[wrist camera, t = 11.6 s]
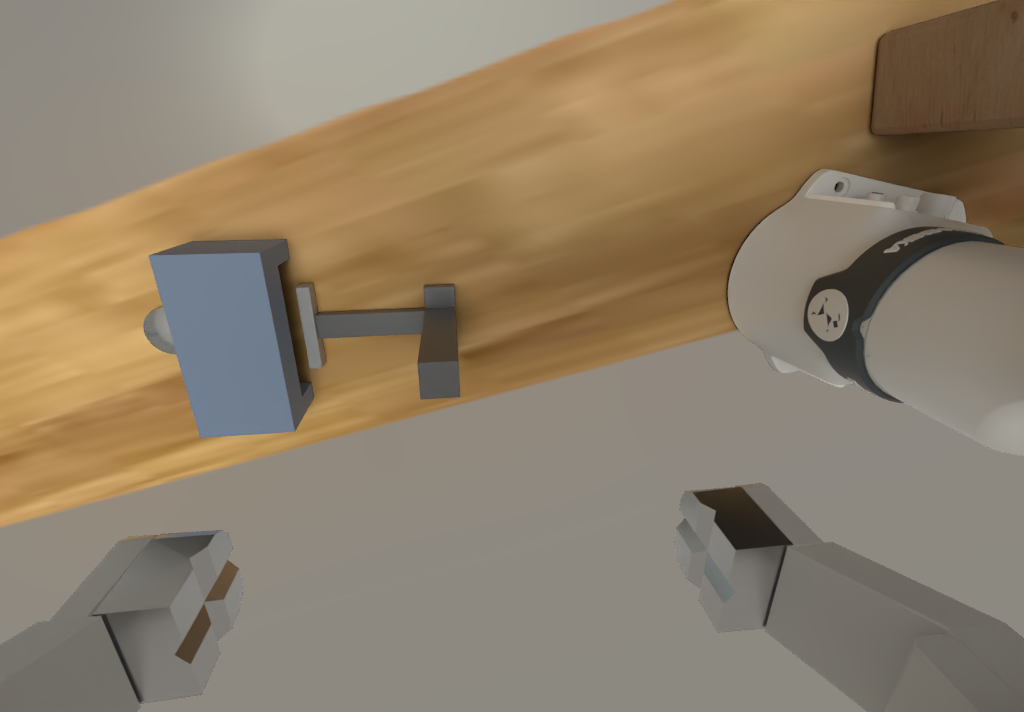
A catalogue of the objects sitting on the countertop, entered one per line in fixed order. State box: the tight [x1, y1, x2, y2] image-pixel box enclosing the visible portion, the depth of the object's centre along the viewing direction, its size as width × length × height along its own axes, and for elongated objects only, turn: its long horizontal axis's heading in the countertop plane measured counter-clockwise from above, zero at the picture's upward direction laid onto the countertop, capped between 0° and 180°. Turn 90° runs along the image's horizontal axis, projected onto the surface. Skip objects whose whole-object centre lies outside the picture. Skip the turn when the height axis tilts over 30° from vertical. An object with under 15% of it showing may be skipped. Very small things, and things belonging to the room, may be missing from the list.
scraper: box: [296, 283, 460, 399], centre depth 36 cm, size 12×7×13 cm, turn 91°
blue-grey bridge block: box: [149, 239, 314, 438], centre depth 38 cm, size 7×14×6 cm, turn 1°
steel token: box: [144, 306, 176, 354], centre depth 40 cm, size 4×4×1 cm
